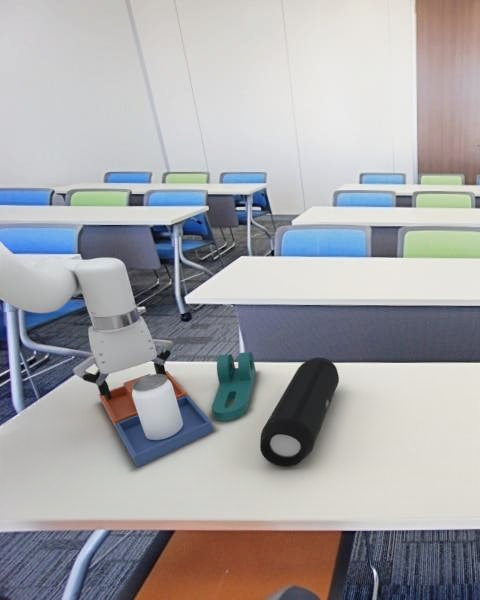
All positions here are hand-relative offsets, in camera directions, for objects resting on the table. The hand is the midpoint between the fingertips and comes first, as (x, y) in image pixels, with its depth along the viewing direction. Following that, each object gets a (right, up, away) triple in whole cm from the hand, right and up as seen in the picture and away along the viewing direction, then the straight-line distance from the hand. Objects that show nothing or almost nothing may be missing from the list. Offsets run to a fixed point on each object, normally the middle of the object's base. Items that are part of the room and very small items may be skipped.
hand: (135, 387), depth 88 cm
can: (+11, -8, -6) cm, 15 cm away
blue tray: (+11, -8, -6) cm, 15 cm away
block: (+1, -4, +2) cm, 4 cm away
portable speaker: (+39, -8, -2) cm, 40 cm away
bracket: (+19, -3, +6) cm, 20 cm away
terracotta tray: (+1, -4, +2) cm, 5 cm away
